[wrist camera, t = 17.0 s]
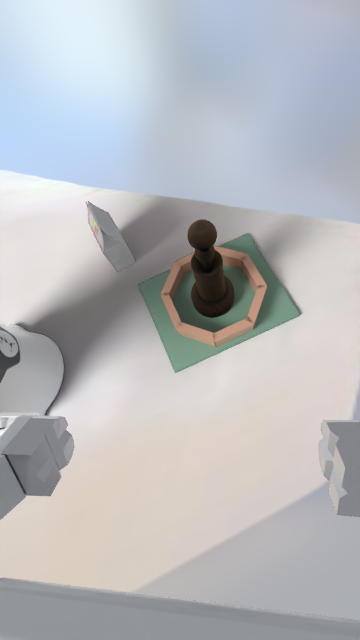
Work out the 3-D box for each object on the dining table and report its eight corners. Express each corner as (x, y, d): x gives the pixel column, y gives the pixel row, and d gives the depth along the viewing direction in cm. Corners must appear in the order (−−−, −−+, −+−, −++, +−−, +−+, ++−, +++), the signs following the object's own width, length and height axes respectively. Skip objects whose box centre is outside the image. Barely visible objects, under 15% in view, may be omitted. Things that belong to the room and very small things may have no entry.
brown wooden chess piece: (195, 277, 48) (174, 198, 31) (236, 280, 46) (237, 199, 30) (189, 316, 46) (163, 254, 29) (231, 320, 44) (230, 257, 28)
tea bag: (121, 234, 54) (97, 194, 45) (135, 261, 52) (114, 225, 42) (103, 243, 54) (76, 206, 45) (117, 271, 52) (91, 238, 42)
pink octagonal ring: (190, 359, 44) (186, 354, 41) (155, 281, 49) (150, 272, 46) (279, 318, 43) (282, 310, 41) (234, 243, 49) (234, 233, 46)
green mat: (175, 372, 44) (174, 372, 43) (139, 286, 50) (138, 284, 49) (299, 315, 44) (299, 314, 43) (247, 235, 49) (248, 233, 49)
